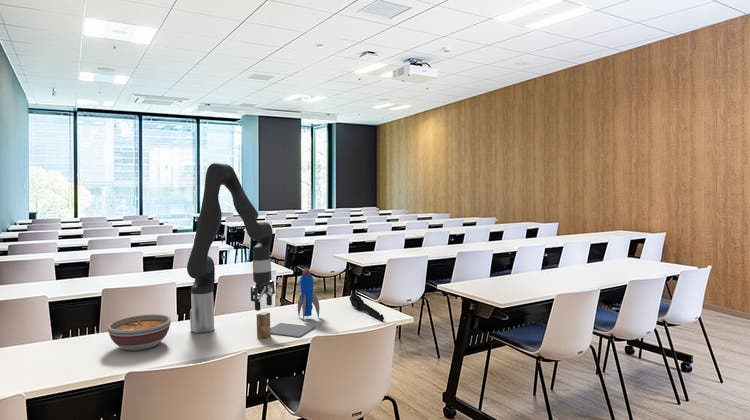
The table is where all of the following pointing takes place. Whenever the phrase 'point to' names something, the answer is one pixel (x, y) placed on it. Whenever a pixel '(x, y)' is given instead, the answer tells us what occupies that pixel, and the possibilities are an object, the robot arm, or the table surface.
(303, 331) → the rubber mat
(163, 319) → the bowl
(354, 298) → the black long tapered piece
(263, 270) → the robot arm
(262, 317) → the walnut block
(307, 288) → the toy rocket
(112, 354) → the table surface
